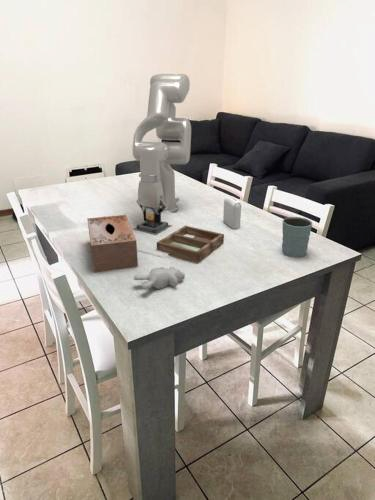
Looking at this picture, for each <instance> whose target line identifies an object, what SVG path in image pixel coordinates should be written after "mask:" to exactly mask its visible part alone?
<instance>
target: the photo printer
mask: <svg viewBox="0 0 375 500" xmlns="http://www.w3.org/2000/svg"><path fill="white" fill-rule="evenodd" d="M241 214H242V204H241V202H240V200H239V199H237V198H236V197H234V196H232V195H231V196H230V195H229V196H226V197H225V198H224V199H223V218H222V220H223V221H222V222H223V223H224V224H225V225H227V226H228V227H230V228H232V229H233V230H235V229H237V230H238V229H239V228H240V227H241V217H242V215H241Z"/></svg>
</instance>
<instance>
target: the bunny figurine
mask: <svg viewBox="0 0 375 500" xmlns="http://www.w3.org/2000/svg"><path fill="white" fill-rule="evenodd" d="M185 275H186V274H185V273H183V272H182V271H181V270H180V269H177V268H175V267H173V266H171V267H169V268H165V267H163V266H162V267H155V268H152V269H150V271H149V273H148V275H144V274H135V275H134V277H133V280H134V281H144V282H142V283H141V289H143V290H149V289H150V288H152V287H153V288H155V289H157V290H158V289H159V290H160V289H165V288H166V287H168V286H170V287H171V286H172V287H177V286H178V284H180V283H181V282H182V281H183V280H185ZM145 280H147V281H145Z"/></svg>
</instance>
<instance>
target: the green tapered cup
mask: <svg viewBox="0 0 375 500" xmlns="http://www.w3.org/2000/svg"><path fill="white" fill-rule="evenodd" d="M312 226H313V221H311V220H310V219H308V218H306V217H299V216H290V217H285V218H284V219H283V220H282V240H281V241H282V243H281V252H282V254H283V255H285V256H286V257H290V258H303V257H305V256H306V255H307V251H308V248H309V247H308V245H309V242H310V236H311V230H312V228H313V227H312Z"/></svg>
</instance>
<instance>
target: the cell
mask: <svg viewBox="0 0 375 500" xmlns="http://www.w3.org/2000/svg"><path fill="white" fill-rule="evenodd" d="M155 214H156V212H155V209H154V208H151V207H146V225H147V227H151V228H156V227H158V226H159V224H158V223H157V224H156V223H155Z"/></svg>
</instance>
